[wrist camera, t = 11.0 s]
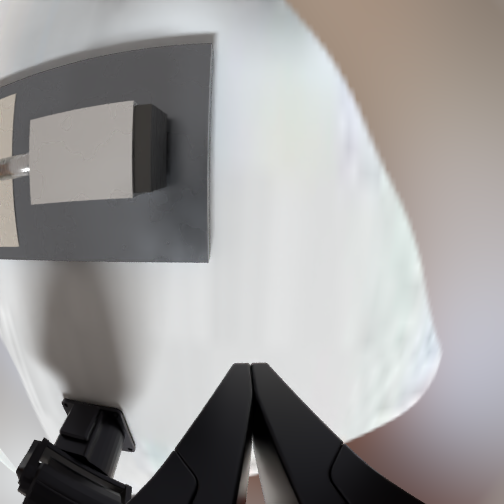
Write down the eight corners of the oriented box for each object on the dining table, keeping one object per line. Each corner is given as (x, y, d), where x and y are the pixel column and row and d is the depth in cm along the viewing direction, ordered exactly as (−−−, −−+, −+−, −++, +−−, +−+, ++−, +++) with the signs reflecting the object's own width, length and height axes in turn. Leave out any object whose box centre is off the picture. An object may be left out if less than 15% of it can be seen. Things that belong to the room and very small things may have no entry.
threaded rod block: (167, 189, 16) (149, 197, 12) (20, 200, 15) (-14, 209, 12) (168, 111, 15) (150, 98, 11) (19, 135, 14) (-16, 134, 11)
